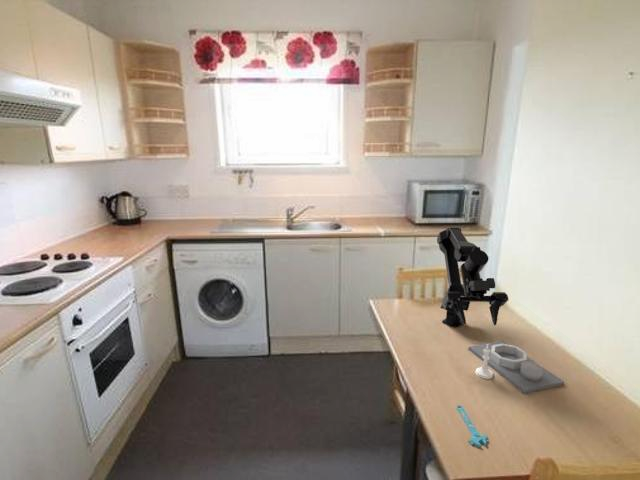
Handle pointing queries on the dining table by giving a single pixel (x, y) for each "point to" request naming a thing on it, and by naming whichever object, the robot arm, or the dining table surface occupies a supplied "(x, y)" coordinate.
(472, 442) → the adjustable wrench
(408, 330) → the dining table surface
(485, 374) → the chess piece
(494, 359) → the carrier plate
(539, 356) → the dining table surface
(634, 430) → the dining table surface
